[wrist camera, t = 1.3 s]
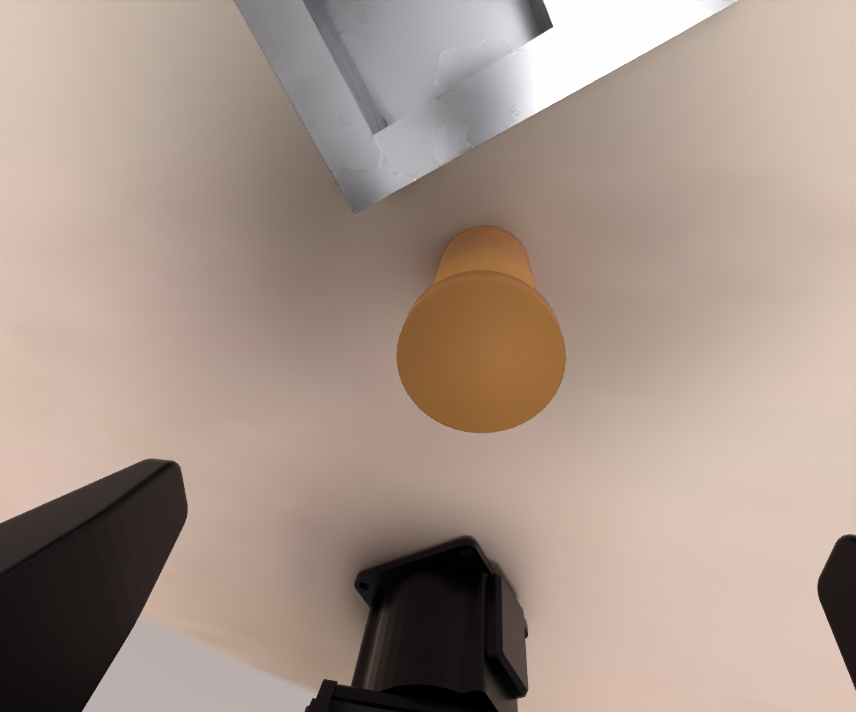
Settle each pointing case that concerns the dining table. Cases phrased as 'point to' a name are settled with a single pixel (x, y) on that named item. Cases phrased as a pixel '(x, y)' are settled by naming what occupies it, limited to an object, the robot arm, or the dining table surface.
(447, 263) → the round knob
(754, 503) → the dining table surface
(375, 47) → the grey slotted base
